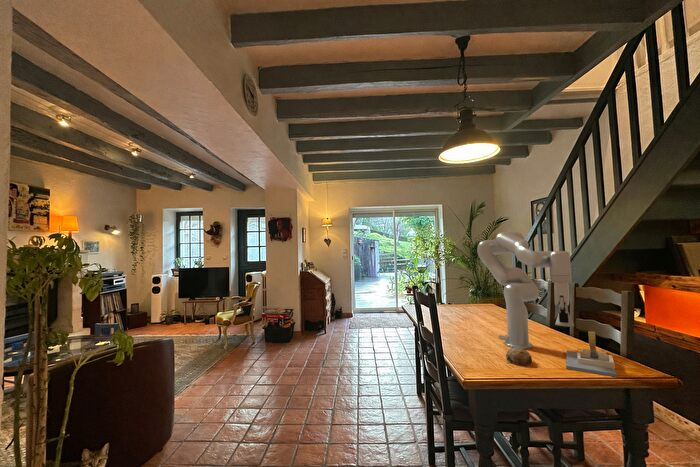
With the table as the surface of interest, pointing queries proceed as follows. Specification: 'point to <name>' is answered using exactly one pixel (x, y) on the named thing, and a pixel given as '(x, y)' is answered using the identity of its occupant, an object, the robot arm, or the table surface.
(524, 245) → the robot arm
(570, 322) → the flask
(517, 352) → the bread roll
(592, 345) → the pin
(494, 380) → the table surface
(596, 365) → the dock board
